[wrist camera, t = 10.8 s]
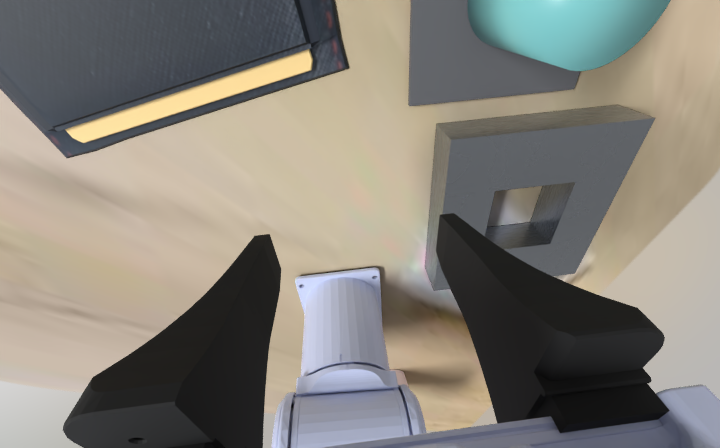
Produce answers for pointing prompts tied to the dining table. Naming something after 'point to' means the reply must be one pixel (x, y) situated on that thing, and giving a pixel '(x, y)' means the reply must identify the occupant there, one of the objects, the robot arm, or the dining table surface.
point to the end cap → (565, 28)
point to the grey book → (155, 61)
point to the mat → (469, 60)
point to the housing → (534, 179)
